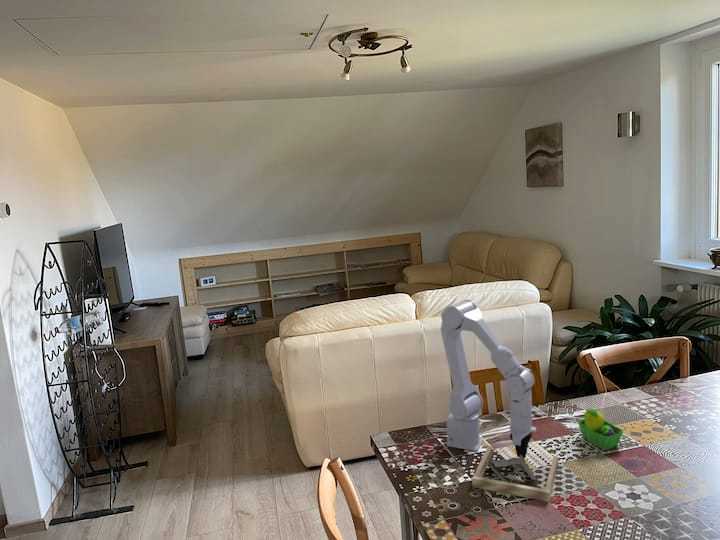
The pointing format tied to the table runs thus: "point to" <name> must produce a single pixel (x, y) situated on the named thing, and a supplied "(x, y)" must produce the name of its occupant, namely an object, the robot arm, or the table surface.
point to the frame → (511, 487)
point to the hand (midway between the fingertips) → (521, 456)
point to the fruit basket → (599, 430)
